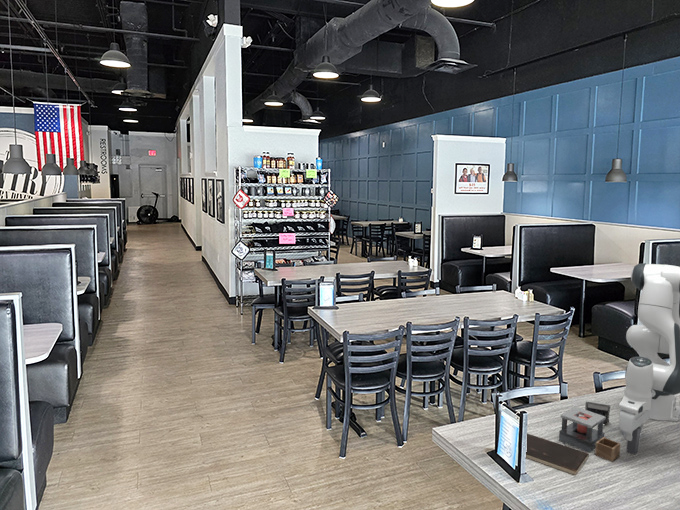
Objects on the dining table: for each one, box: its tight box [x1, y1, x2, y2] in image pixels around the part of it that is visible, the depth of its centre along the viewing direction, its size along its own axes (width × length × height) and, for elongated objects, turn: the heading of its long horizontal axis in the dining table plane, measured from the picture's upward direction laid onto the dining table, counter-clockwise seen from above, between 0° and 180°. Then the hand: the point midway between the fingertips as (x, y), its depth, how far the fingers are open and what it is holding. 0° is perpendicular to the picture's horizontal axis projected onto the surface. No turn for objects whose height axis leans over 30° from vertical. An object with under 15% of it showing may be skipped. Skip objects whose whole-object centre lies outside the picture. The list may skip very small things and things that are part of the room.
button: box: [577, 415, 588, 433], centre depth 197 cm, size 4×4×5 cm
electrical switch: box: [583, 400, 611, 426], centre depth 213 cm, size 9×5×9 cm, turn 64°
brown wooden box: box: [594, 436, 621, 463], centre depth 188 cm, size 6×6×5 cm
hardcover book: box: [525, 433, 590, 476], centre depth 188 cm, size 16×23×2 cm
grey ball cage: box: [558, 405, 606, 453], centre depth 197 cm, size 12×12×11 cm
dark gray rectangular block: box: [626, 427, 641, 456], centre depth 190 cm, size 3×3×10 cm
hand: (633, 436), depth 190 cm, fingers open, 7 cm apart
